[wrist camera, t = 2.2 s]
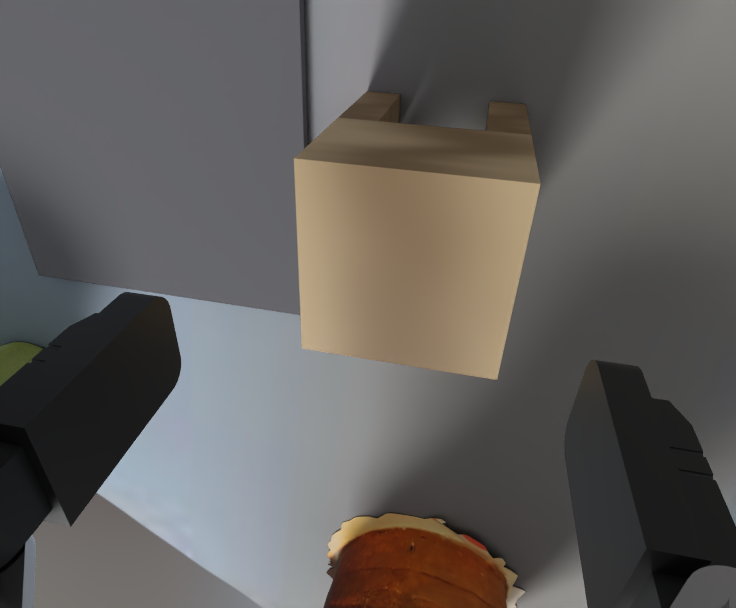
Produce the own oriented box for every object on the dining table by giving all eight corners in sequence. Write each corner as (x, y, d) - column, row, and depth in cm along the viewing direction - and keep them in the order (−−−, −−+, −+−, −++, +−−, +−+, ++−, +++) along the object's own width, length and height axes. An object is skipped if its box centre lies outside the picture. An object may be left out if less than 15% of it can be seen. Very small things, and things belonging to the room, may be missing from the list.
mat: (302, -57, 17) (297, -57, 16) (312, 310, 24) (309, 316, 24) (-71, -70, 19) (-84, -71, 18) (45, 270, 26) (39, 275, 26)
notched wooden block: (525, 104, 18) (540, 183, 11) (498, 249, 21) (497, 379, 14) (367, 91, 19) (293, 158, 12) (362, 232, 22) (302, 348, 15)
